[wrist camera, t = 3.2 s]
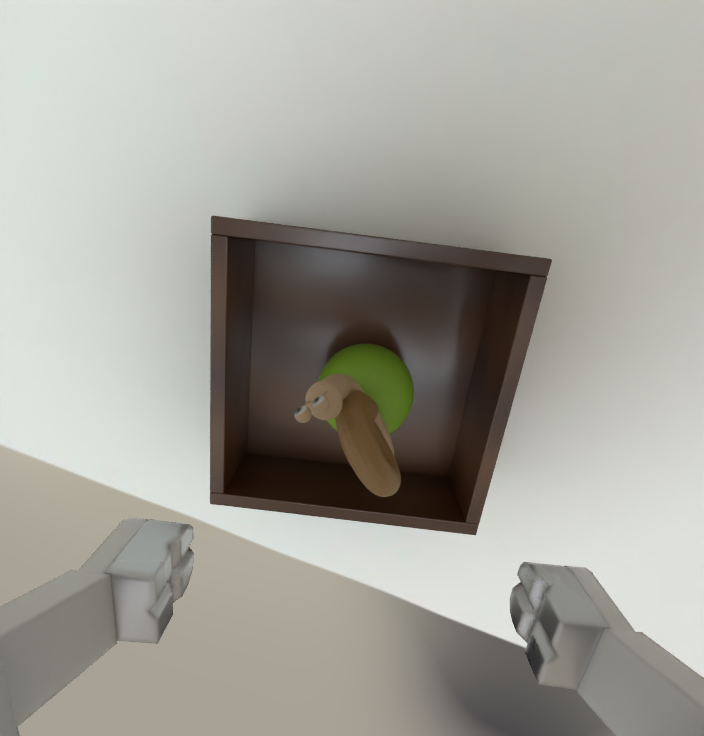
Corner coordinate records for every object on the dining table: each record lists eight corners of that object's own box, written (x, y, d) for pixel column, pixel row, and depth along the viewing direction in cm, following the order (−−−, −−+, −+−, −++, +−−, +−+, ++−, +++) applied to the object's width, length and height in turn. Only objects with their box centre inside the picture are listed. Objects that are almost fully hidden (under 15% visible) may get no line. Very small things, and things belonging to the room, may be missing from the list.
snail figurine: (372, 303, 22) (384, 361, 11) (422, 389, 24) (480, 521, 12) (297, 348, 23) (233, 445, 12) (350, 428, 25) (340, 584, 13)
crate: (244, 223, 21) (210, 215, 17) (509, 257, 22) (552, 259, 17) (237, 456, 26) (209, 504, 21) (454, 483, 26) (476, 535, 21)
